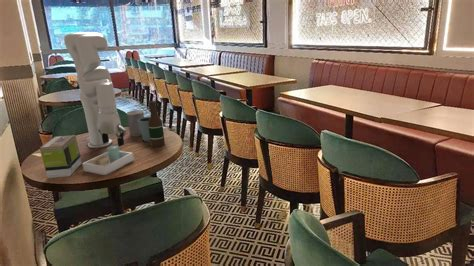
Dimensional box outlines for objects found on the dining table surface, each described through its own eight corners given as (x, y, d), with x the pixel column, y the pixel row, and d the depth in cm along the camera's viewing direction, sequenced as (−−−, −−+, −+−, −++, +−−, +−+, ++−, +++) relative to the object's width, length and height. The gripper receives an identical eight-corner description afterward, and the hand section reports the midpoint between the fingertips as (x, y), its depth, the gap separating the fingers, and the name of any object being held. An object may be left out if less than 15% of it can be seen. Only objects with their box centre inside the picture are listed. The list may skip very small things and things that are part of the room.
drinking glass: (162, 137, 191) (160, 117, 187) (149, 143, 183) (147, 122, 179) (150, 135, 196) (147, 115, 193) (137, 140, 188) (134, 120, 185)
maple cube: (93, 169, 149) (91, 159, 147) (102, 165, 153) (100, 155, 152) (102, 171, 147) (100, 160, 145) (110, 166, 151) (108, 156, 150)
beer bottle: (161, 147, 175) (156, 103, 167) (148, 147, 176) (142, 103, 169) (167, 142, 182) (162, 99, 175) (154, 142, 183) (148, 100, 176)
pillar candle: (133, 131, 205) (129, 108, 201) (148, 131, 205) (145, 107, 200) (127, 136, 196) (123, 112, 191) (143, 136, 196) (140, 111, 191)
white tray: (83, 171, 149) (82, 163, 148) (112, 157, 164) (111, 149, 163) (106, 175, 144) (104, 166, 142) (133, 160, 159) (132, 152, 158)
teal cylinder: (107, 162, 156) (105, 148, 154) (115, 158, 160) (112, 145, 158) (115, 163, 154) (113, 150, 152) (123, 159, 158) (120, 146, 156)
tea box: (61, 165, 158) (54, 135, 154) (82, 163, 159) (76, 134, 154) (46, 178, 144) (38, 146, 139) (70, 176, 144) (63, 145, 140)
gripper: (87, 109, 152) (94, 144, 158) (116, 113, 145) (121, 149, 151) (100, 105, 158) (106, 138, 164) (128, 109, 151) (133, 143, 157)
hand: (113, 143), depth 158 cm, fingers open, 9 cm apart
